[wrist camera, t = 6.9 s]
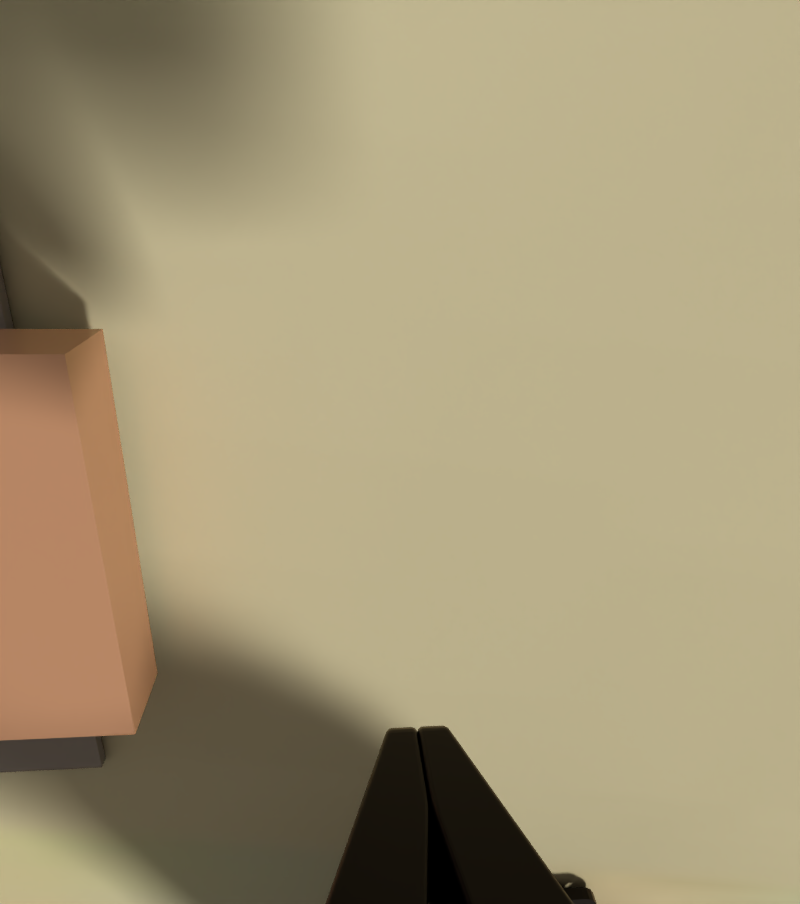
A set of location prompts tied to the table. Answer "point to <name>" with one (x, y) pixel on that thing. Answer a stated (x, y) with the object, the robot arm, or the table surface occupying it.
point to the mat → (49, 749)
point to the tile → (67, 546)
